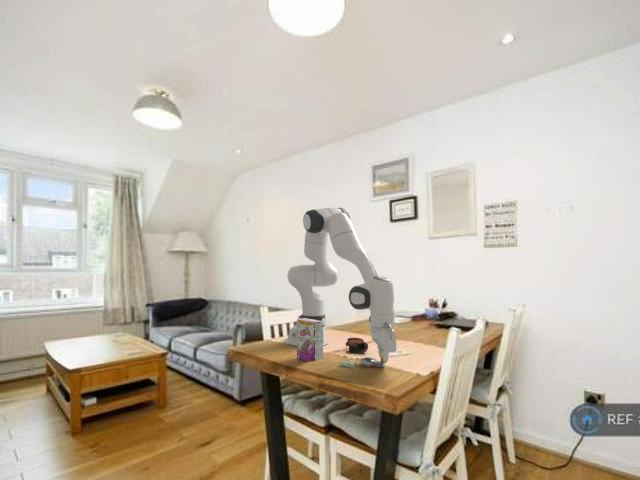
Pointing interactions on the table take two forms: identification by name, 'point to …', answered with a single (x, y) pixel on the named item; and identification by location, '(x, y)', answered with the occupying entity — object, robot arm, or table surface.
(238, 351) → the table surface
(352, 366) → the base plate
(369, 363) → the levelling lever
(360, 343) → the pottery mug
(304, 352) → the candy bar box
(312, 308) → the robot arm
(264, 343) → the table surface
